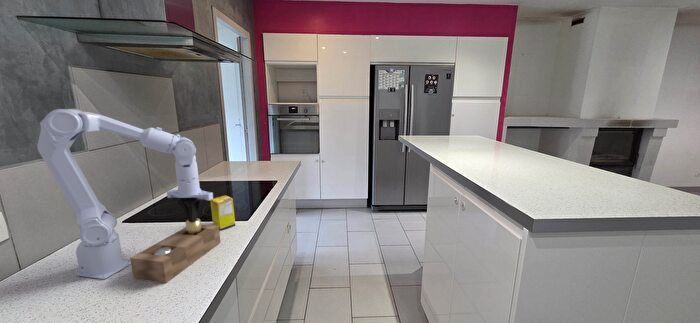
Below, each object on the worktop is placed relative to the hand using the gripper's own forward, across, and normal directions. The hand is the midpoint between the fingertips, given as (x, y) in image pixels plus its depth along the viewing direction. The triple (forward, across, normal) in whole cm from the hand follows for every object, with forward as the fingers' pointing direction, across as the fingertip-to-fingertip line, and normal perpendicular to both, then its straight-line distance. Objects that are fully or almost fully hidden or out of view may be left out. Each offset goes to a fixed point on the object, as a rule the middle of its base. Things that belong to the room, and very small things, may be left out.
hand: (193, 220), depth 88 cm
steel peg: (+9, 0, +12) cm, 15 cm away
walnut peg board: (+10, 0, +6) cm, 11 cm away
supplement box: (+10, +2, -17) cm, 20 cm away
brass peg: (+6, 0, 0) cm, 6 cm away
